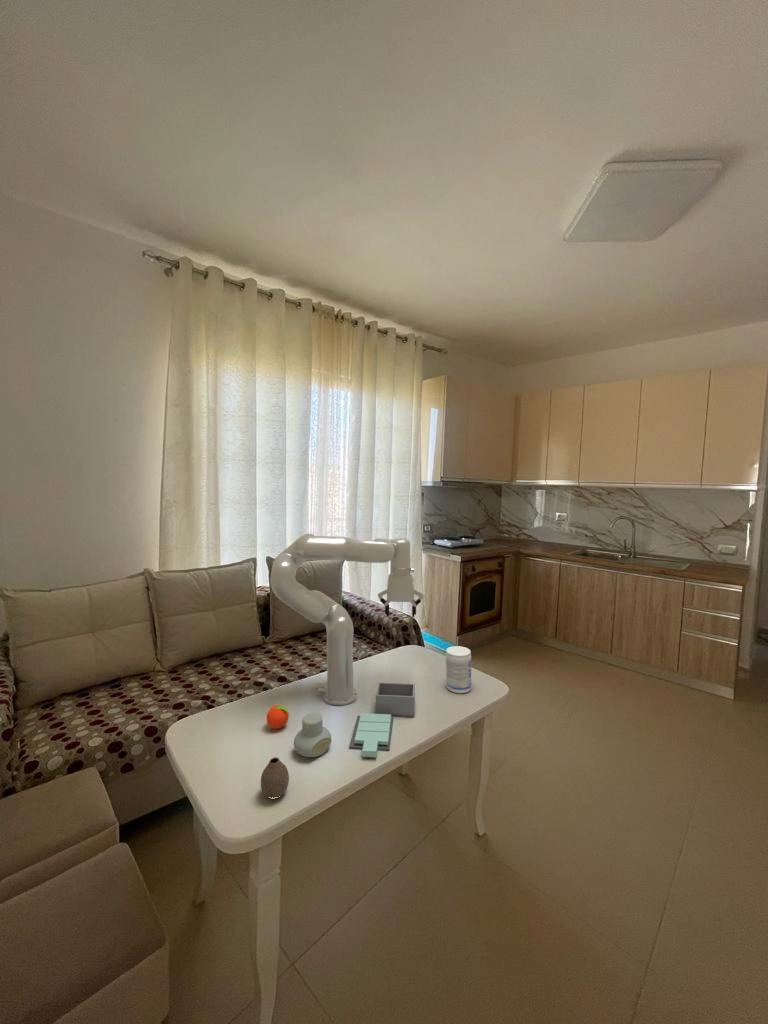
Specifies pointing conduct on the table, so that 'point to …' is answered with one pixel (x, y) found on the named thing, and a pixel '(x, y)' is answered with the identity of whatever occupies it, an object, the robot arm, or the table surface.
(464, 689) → the supplement tub
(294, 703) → the table surface
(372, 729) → the lid
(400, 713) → the tub
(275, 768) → the vase
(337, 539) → the robot arm
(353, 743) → the mat
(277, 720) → the clementine
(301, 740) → the air freshener
